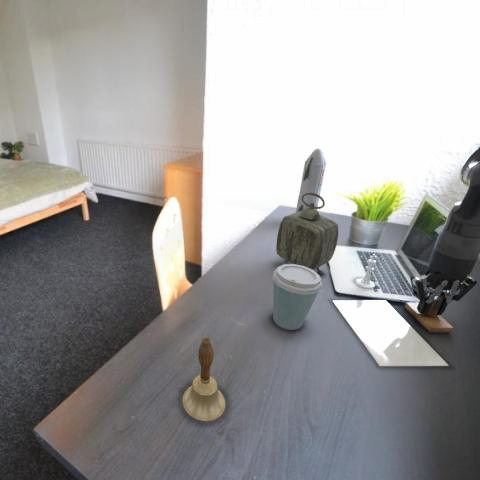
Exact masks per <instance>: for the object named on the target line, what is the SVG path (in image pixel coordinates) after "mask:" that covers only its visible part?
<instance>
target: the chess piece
mask: <svg viewBox="0 0 480 480" xmlns="http://www.w3.org/2000/svg"><path fill="white" fill-rule="evenodd" d="M375 259H378V257H377V256H376V254H375V253H373V254H372V255H371V256H369V259H367V264H368V265H366V266H365V269H366V272H365V274H364V275H363V277H362V278H357V279H356V280H355V283H356V284H357V285H358V286H359V287H361V288H365V289H375V287H376V284H375V283H374V281H373V280H371V277H372V276H371V275H372V272H373V271H375V268H374V266H375V265H376V264H377V260H375Z"/></svg>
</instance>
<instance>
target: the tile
mask: <svg viewBox="0 0 480 480" xmlns="http://www.w3.org/2000/svg"><path fill="white" fill-rule="evenodd" d="M331 302H332V303H333V305H334V306H335V307H336V309H337V310H338V312H339V313H340V314H341V316H342V317H343V319H344V320H345V321H346V323H347V324H348V326H349V327H350V328H351V330H352V331H353V332H354V334H355V335H356V337H357V338H358V339H359V341H360V342H361V343H362V345H363V346H364V347H365V349H366V350H367V351H368V353H369V354H370V356H371V357H372V358H373V360H374V361H375V363H376V364H377V365H378V367H379V368H380V367H381V368H383V367H449V366H450V365H449V364H448V363H447V362H446V361H445V360H444V359H443V358H442V356H440V354H438V353H437V351H435V350H434V348H432V346H431V345H430V344H429V343H428V342H427V341H426V340H425V339H424V338H423V337H422V336H421V335H420V334H419V333H418V332H417V331H416V330H415V328H413V327H412V326H411V325H410V324H409V323H408V321H407V320H406V319H405V318H404V317H402V315H401V314H400V313H399V312H398V311H397V310H396V309H395V308H394V307H393V306H392V305H391V303H389V302H388V300H386V299H355V300H353V299H352V300H351V299H350V300H348V299H346V300H344V299H341V300H331Z"/></svg>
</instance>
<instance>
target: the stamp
mask: <svg viewBox="0 0 480 480" xmlns="http://www.w3.org/2000/svg"><path fill="white" fill-rule="evenodd" d="M427 296H429V294H428V295H427ZM442 302H443V298H442V297H440V296H436V297H435V298H434V300H433V301H432V304H431V307H430V309H429V311H428V314H427V315H422V314H421V313H419V312H418V310H417V306H418V304H419V301H417V302H413V301H412V302H411V301H409V302H408V301H407V302H405V303H404V310H405V311H406V312H407V313H408V314H409V315H410V316H411V317H412V318H413V319H414V320H415V321H416V322H417V323H418V324H419V325H420V326H421V327H422V328H423V329H424V330H425V331H426V332H428V334H430V335H432V334H433V335H434V334H435V335H439V334H440V335H441V334H445V335H446V334H450V333H451V332H453V330H454V327H453V326H452V325H451V324H450V323H449V322H448V321H447V320H446V319H444V318H443V317H442V315H437V313H438V311H439V308H440V306H441V304H442Z"/></svg>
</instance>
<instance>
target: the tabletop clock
mask: <svg viewBox="0 0 480 480" xmlns="http://www.w3.org/2000/svg"><path fill="white" fill-rule="evenodd" d="M306 195H313V196H316V197H318V198H319V200H320V201H321V202H322V205H320V206H318V207H316V206H314V203H310V205H309V204H307V203H306V202H305V201H304V200H303V198H304V196H306ZM302 202H303V203H304V204H305V205H306V206H308V207H310V208H306V209H304V210H303V211H298V212H296V211H295V212H293V213H291V214H287V215H284V216H283V218H282V219H281V221H280V225H279V227H278V231H277V236H276V245H275V246H276V247H275V248H276V255H278V256H279V257H280V258H281V259H283V260H285V261H287V262H288V263H289V264H296V265H301V266H305V267H307V268H310V269H312V270H314V271H315V270H317V272H316V273H317V274H318V275H319V276H323V275H324V271H323V270H321V269H320V267H322V266H324V265H326V264H328V263H329V262H330V261H331V260H332V258H333V256H334V254H335V252H336V248H337V246H338V245H337V244H338V241H339V240H338V238H339V224H338V223H337V222H336V221H335V220H333V219H332V218H329V217H327V216H324V215H322V214H320V212H319V210H321V209H322V208H324V207H325V205H326V202H325V200H324V198H323V197H322V196H321V194H320V195H318V194H315V193H305V194H304V195H303V196H302ZM316 209H317V210H316Z"/></svg>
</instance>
